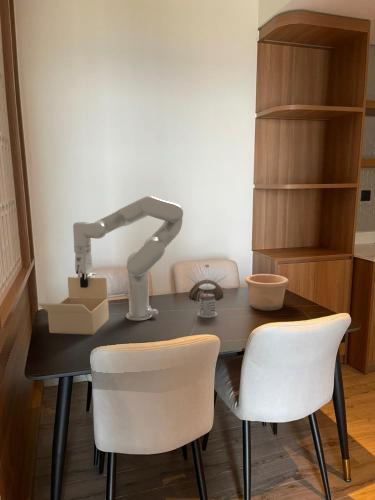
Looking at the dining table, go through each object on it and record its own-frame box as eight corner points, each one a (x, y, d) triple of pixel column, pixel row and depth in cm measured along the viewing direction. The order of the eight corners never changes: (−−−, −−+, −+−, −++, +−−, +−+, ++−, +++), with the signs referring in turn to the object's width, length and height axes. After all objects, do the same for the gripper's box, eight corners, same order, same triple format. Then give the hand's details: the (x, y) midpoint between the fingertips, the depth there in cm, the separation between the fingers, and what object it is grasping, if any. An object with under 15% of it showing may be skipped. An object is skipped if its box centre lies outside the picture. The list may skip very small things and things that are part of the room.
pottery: (281, 314, 184) (281, 286, 182) (238, 308, 195) (238, 281, 192) (292, 302, 203) (293, 276, 200) (253, 297, 213) (253, 272, 211)
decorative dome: (230, 295, 218) (230, 278, 217) (210, 304, 203) (210, 285, 201) (202, 290, 230) (202, 274, 228) (182, 297, 215) (181, 280, 213)
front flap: (82, 304, 153) (82, 305, 152) (91, 312, 161) (90, 313, 161) (37, 303, 155) (37, 304, 155) (48, 310, 164) (48, 311, 164)
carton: (109, 318, 183) (107, 298, 181) (93, 334, 163) (92, 312, 161) (69, 317, 185) (68, 297, 184) (49, 332, 166) (47, 310, 164)
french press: (221, 313, 187) (221, 263, 183) (206, 319, 179) (205, 267, 174) (206, 309, 194) (205, 261, 189) (190, 315, 185) (190, 265, 181)
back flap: (107, 298, 181) (107, 297, 181) (106, 278, 179) (106, 277, 180) (68, 297, 183) (69, 296, 184) (67, 277, 182) (68, 277, 182)
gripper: (84, 251, 168) (86, 291, 171) (96, 246, 183) (97, 283, 186) (68, 251, 169) (70, 291, 172) (81, 246, 184) (82, 283, 187)
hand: (84, 287), depth 179 cm, fingers closed
